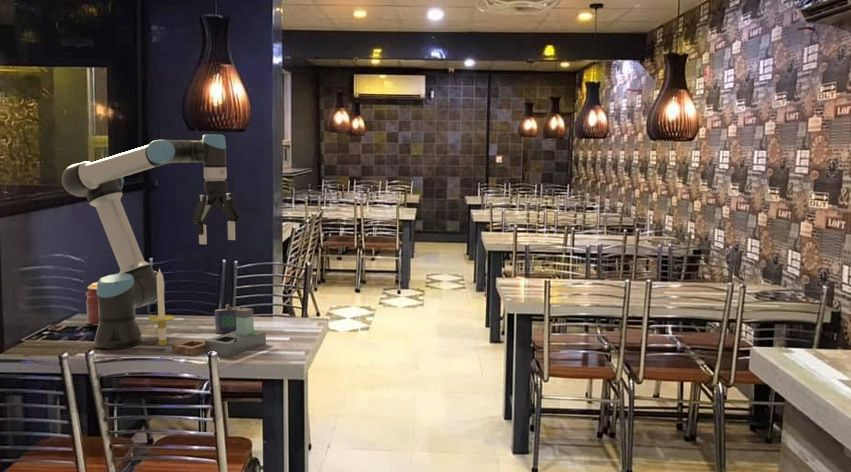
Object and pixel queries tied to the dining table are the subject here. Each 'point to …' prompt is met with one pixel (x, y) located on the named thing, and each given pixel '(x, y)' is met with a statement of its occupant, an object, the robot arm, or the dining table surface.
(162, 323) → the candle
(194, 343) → the square wooden tray
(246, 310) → the green square bottle
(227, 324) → the flask
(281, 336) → the dining table surface
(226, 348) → the port panel
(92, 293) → the canister
